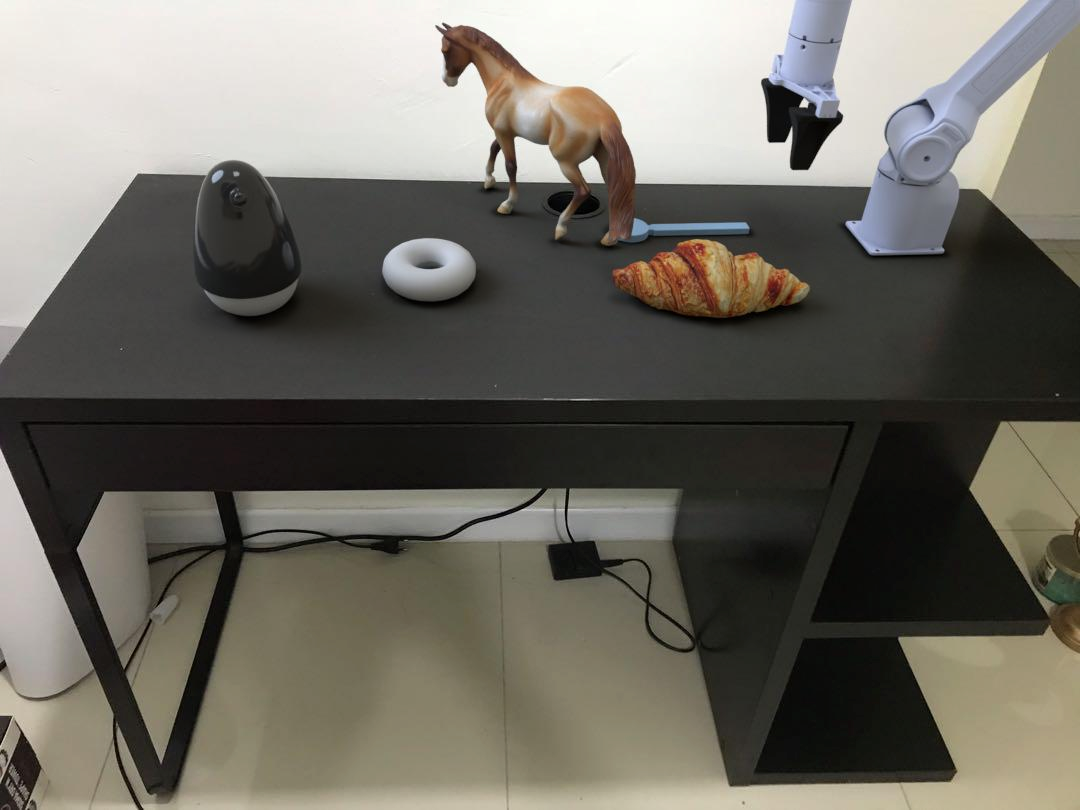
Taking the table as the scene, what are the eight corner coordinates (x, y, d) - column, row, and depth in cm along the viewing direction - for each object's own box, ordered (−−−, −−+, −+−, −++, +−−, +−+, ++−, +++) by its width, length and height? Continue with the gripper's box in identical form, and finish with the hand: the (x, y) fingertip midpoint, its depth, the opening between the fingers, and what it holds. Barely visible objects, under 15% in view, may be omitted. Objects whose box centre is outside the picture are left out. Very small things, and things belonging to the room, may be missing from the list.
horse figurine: (434, 188, 116) (430, 20, 103) (479, 172, 120) (481, 9, 107) (617, 287, 99) (640, 101, 86) (662, 263, 104) (690, 84, 91)
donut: (447, 318, 93) (492, 273, 100) (446, 290, 91) (492, 245, 98) (365, 292, 96) (414, 250, 103) (362, 264, 94) (412, 223, 101)
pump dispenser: (208, 338, 88) (177, 193, 78) (198, 284, 95) (168, 146, 86) (314, 321, 91) (296, 180, 82) (296, 270, 99) (278, 135, 89)
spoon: (741, 222, 113) (742, 214, 112) (752, 240, 109) (754, 232, 109) (606, 224, 111) (607, 217, 110) (613, 243, 107) (614, 235, 106)
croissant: (790, 315, 103) (797, 244, 101) (822, 325, 93) (831, 246, 91) (604, 307, 101) (609, 234, 100) (617, 315, 92) (622, 235, 90)
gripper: (757, 14, 103) (735, 130, 111) (805, 57, 92) (776, 182, 100) (816, 15, 104) (790, 130, 112) (870, 57, 93) (836, 181, 101)
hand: (787, 154), depth 106 cm, fingers open, 7 cm apart
